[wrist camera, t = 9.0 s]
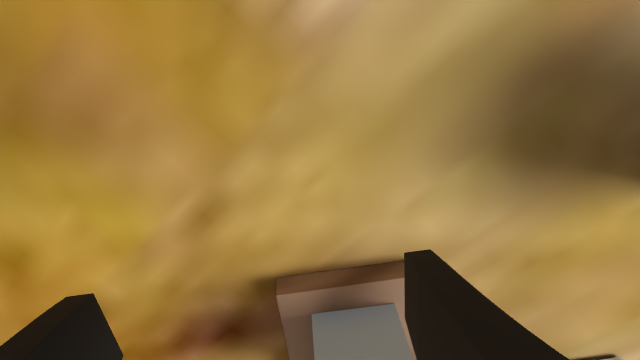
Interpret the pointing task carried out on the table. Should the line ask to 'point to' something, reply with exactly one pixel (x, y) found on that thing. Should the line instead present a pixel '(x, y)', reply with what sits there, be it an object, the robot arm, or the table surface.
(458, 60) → the table surface
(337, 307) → the slab
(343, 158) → the table surface
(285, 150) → the table surface
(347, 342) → the block
